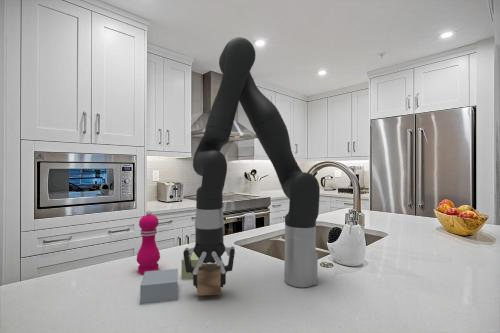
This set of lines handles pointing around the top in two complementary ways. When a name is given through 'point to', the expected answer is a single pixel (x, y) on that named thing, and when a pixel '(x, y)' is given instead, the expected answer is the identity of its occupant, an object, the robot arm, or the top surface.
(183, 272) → the olive block
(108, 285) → the top surface
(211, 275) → the walnut block
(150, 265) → the pepper mill
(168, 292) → the slate base block
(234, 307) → the top surface
